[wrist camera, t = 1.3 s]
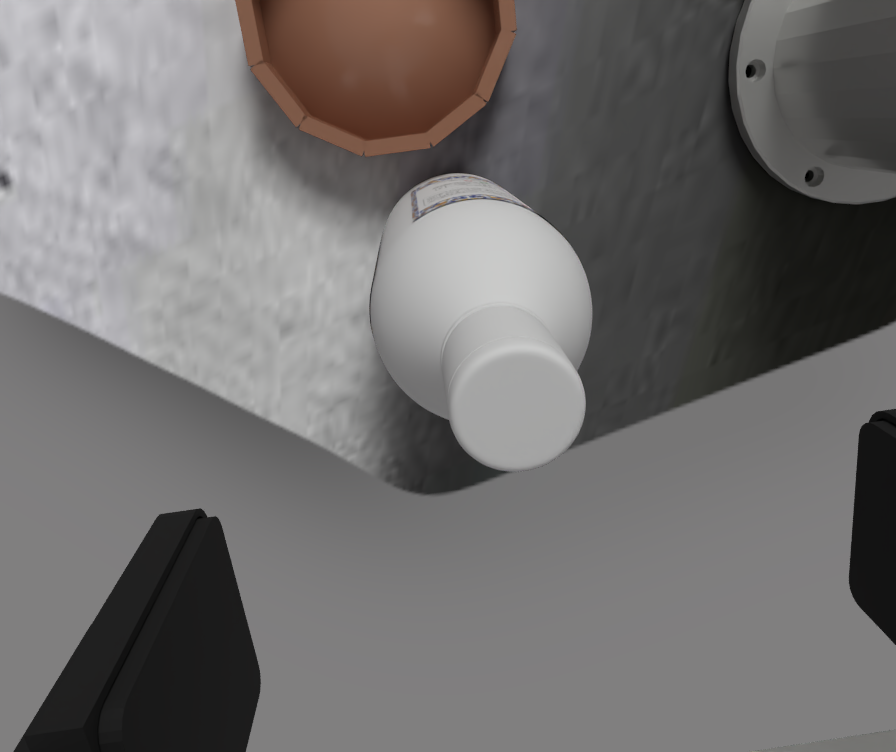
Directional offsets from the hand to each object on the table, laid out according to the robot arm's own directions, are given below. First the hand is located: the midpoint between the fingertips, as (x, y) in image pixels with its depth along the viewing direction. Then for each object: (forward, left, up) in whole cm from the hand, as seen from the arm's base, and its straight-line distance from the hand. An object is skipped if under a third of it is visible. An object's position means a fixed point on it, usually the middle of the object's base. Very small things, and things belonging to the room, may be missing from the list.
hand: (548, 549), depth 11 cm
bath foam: (0, 0, -25) cm, 25 cm away
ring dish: (+2, -10, -25) cm, 27 cm away
